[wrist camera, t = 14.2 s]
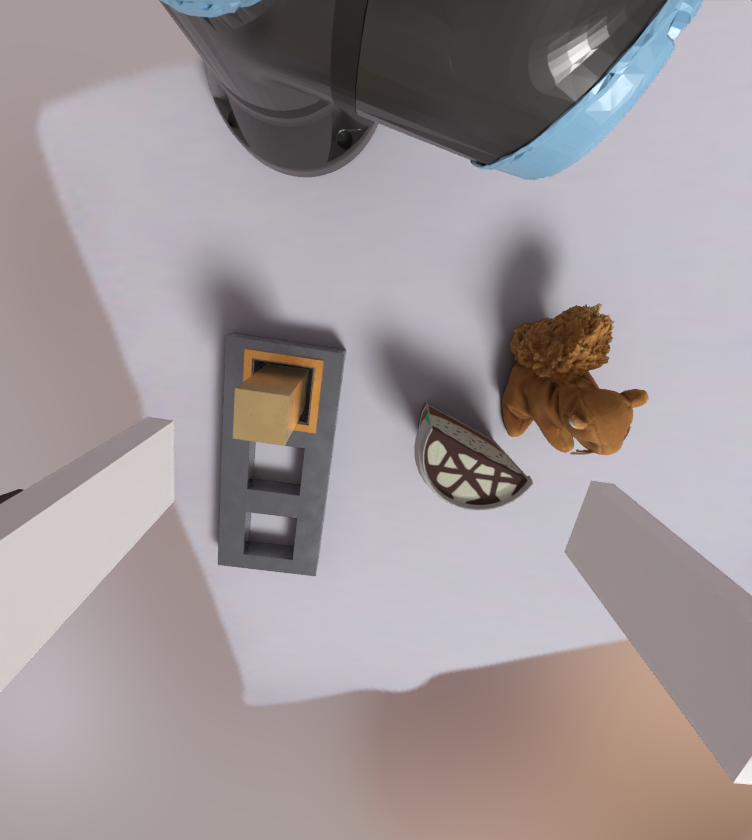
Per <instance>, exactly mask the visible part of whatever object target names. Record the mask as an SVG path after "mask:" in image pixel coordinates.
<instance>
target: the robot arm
mask: <svg viewBox="0 0 752 840" xmlns="http://www.w3.org/2000/svg"><path fill="white" fill-rule="evenodd" d="M159 1H160V2H161V3H162V5H163V6H164V7H165V9H166V10H167V11H168V13H169V14H170V15H171V17H172V18H173V20H174V21H175V22H176V24H177V25H178V26H179V28H180V29H181V30H182V32H183V33H184V34H185V36H186V37H187V38H188V40H189V41H190V42H191V44H192V45H193V46H194V47H195V49H196V50H197V52H198V53H199V54H200V56H201V57H202V58H203V60H204V61H205V66H206V73H207V78H208V82H209V86H210V90H211V93H212V96H213V98H214V101H215V103H216V106H217V108H218V110H219V112H220V114H221V116H222V118H223V120H224V122H225V123H226V125H227V126H228V128H229V129H230V131H231V132H232V133H233V135H234V136H235V137H236V138H237V140H238V141H239V142H240V143H241V144H242V145H243V146H244V147H245V148H246V149H247V150H248V152H250V153H251V154H252V155H253V156H254V157H255V158H256V159H258V160H259V161H260V162H262V163H263V164H265V165H266V166H268V167H270V168H272V169H274V170H276V171H278V172H281V173H284V174H287V175H291V176H297V177H315V176H321V175H325V174H328V173H331V172H333V171H336V170H338V169H340V168H341V167H343V166H345V165H346V164H348V163H349V162H350V161H352V160H353V159H354V158H355V157H356V156H357V155H358V154H359V153H360V152H361V151H362V150H363V148H364V147H365V146H366V145H367V143H368V142H369V140H370V139H371V137H372V135H373V133H374V132H375V130H376V127H377V125H378V123H379V124H381V125H384V126H386V127H389V128H391V129H394V130H397V131H399V132H402V133H404V134H407V135H409V136H412V137H414V138H417V139H419V140H422V141H424V142H427V143H429V144H432V145H434V146H437V147H439V148H442V149H444V150H447V151H450V152H452V153H455V154H457V155H460V156H462V157H465V158H467V159H470V161H471V163H472V164H473V165H474V166H476V167H478V168H480V169H496V170H499V171H502V172H505V173H508V174H511V175H514V176H517V177H520V178H522V179H527V180H536V179H539V178H545V177H550V176H553V175H556V174H558V173H560V172H562V171H563V170H565V169H567V168H568V167H570V166H572V165H573V164H574V163H576V162H577V161H579V160H580V159H581V158H582V157H584V156H585V155H586V154H587V153H588V152H590V151H591V150H592V149H593V148H594V147H595V146H596V145H597V144H598V143H599V142H600V141H601V140H602V139H603V138H604V137H605V136H607V135H608V134H609V132H610V131H611V130H612V129H613V128H614V127H615V126H616V125H617V124H618V123H619V122H620V121H621V120H622V119H623V117H624V116H625V115H626V114H627V113H628V112H629V110H630V109H631V108H632V107H633V106H634V105H635V103H636V102H637V101H638V100H639V98H640V97H641V96H642V95H643V93H644V92H645V91H646V90H647V88H648V87H649V86H650V84H651V83H652V82H653V80H654V79H655V78H656V76H657V75H658V74H659V72H660V71H661V69H662V68H663V66H664V65H665V64H666V62H667V61H668V59H669V58H670V56H671V54H672V53H673V51H674V48H675V47H674V42H673V41H674V39H675V38H676V37H677V36H678V35H679V34H680V33H681V31H682V30H683V29H684V28H685V27H686V26H687V25H688V24H689V23H690V22H691V21H692V20H693V19H694V17H695V16H696V14H697V12H698V10H699V8H700V6H701V5H702V3H703V1H704V0H159ZM173 502H174V421H173V420H166V419H159V418H152V417H147V418H145V419H143V420H142V421H140V422H138V423H137V424H135V425H133V426H132V427H130V428H128V429H126V430H125V431H123V432H122V433H120V434H118V435H116V436H115V437H113V438H111V439H110V440H108V441H106V442H105V443H103V444H101V445H99V446H98V447H96V448H94V449H93V450H91V451H89V452H88V453H86V454H84V455H83V456H81V457H79V458H77V459H76V460H74V461H73V462H71V463H69V464H67V465H66V466H64V467H62V468H61V469H59V470H57V471H56V472H54V473H52V474H50V475H49V476H47V477H45V478H44V479H42V480H40V481H39V482H37V483H35V484H34V485H32V486H30V487H28V488H27V489H25V490H22V489H18V490H15V491H12V492H10V493H6V494H3V495H1V496H0V692H1V691H2V690H3V689H4V688H5V687H6V685H7V684H8V683H9V682H10V681H11V680H12V679H13V678H14V677H15V676H16V674H17V673H18V672H19V671H20V670H21V669H22V668H23V667H24V665H25V664H26V663H27V662H28V661H29V660H30V659H31V658H32V657H33V656H34V655H35V654H36V652H37V651H38V650H39V649H40V648H41V647H42V646H43V645H44V644H45V642H46V641H47V640H48V639H49V638H50V637H51V636H52V635H53V634H54V633H55V632H56V630H57V629H58V628H59V627H60V626H61V625H62V624H63V623H64V622H65V620H66V619H67V618H68V617H69V616H70V614H72V613H73V612H74V611H75V609H76V608H77V607H78V606H79V605H80V604H81V603H82V602H83V601H84V600H85V598H86V597H87V596H88V595H89V594H90V593H91V592H92V591H93V590H94V589H95V587H96V586H97V585H98V584H99V583H100V582H101V581H102V580H103V579H104V578H105V576H106V575H107V574H108V573H109V572H110V571H111V570H112V569H113V568H114V567H115V565H116V564H117V563H118V562H119V561H120V560H121V559H122V558H123V557H124V556H125V554H126V553H127V552H128V551H129V550H130V549H131V548H132V547H133V546H134V545H135V543H136V542H137V541H138V540H139V539H140V538H141V537H142V536H143V535H144V533H145V532H146V531H147V530H148V529H149V528H150V527H151V526H152V525H153V524H154V523H155V521H156V520H157V519H158V518H159V517H160V516H161V515H162V514H163V512H164V511H165V510H166V509H167V508H168V507H169V506H170V505H171V504H172V503H173ZM565 553H566V555H567V556H568V557H569V559H570V560H571V561H572V563H573V564H574V566H575V567H576V568H577V570H578V571H579V572H580V574H581V575H582V577H583V578H584V579H585V581H586V582H587V583H588V585H589V586H590V587H591V589H592V590H593V592H594V593H595V594H596V596H597V597H598V598H599V600H600V601H601V603H602V604H603V605H604V607H605V608H606V609H607V611H608V612H609V613H610V615H611V616H612V618H613V619H614V620H615V622H616V623H617V624H618V626H619V627H620V629H621V630H622V631H623V633H624V634H625V635H626V637H627V638H628V639H629V641H630V642H631V644H632V645H633V646H634V647H635V649H636V650H637V652H638V653H639V655H640V656H641V657H642V659H643V660H644V661H645V663H646V664H647V665H648V667H649V668H650V669H651V671H652V672H653V674H654V675H655V676H656V678H657V679H658V680H659V682H660V683H661V684H662V686H663V687H664V689H665V690H666V691H667V693H668V694H669V695H670V697H671V698H672V700H673V701H674V702H675V704H676V705H677V706H678V708H679V709H680V711H681V712H682V713H683V715H684V716H685V717H686V719H687V720H688V722H689V723H690V724H691V726H692V727H693V728H694V730H695V731H696V732H697V734H698V735H699V737H700V738H701V739H702V740H703V742H704V743H705V745H706V746H707V748H708V749H709V750H710V752H711V753H712V754H713V756H714V757H715V758H716V760H717V761H718V762H719V764H720V765H721V767H722V768H723V769H724V771H725V772H726V773H727V775H728V776H729V778H730V779H731V780H732V782H733V783H741V784H752V596H751V595H750V594H749V593H747V592H746V591H745V590H744V589H742V588H741V587H740V586H739V585H738V584H736V583H735V582H734V581H733V580H731V579H730V578H729V577H728V576H726V575H725V574H724V573H723V572H722V571H720V570H719V569H718V568H717V567H715V566H714V565H713V564H712V563H710V562H709V561H708V560H707V559H706V558H704V557H703V556H702V555H701V554H699V553H698V552H697V551H696V550H694V549H693V548H692V547H691V546H690V545H688V544H687V543H686V542H685V541H683V540H682V539H681V538H680V537H678V536H677V535H676V534H675V533H674V532H672V531H671V530H670V529H669V528H667V527H666V526H665V525H664V524H662V523H661V522H660V521H659V520H658V519H656V518H655V517H654V516H653V515H651V514H650V513H649V512H648V511H646V510H645V509H644V508H643V507H642V506H640V505H639V504H638V503H637V502H635V501H634V500H633V499H632V498H630V497H629V496H628V495H627V494H626V493H624V492H623V491H622V490H621V489H619V488H618V487H617V486H616V485H614V484H611V483H604V482H597V481H591V483H590V485H589V488H588V491H587V493H586V496H585V499H584V501H583V504H582V507H581V509H580V512H579V515H578V517H577V520H576V523H575V525H574V528H573V531H572V533H571V536H570V539H569V541H568V544H567V547H566V549H565Z"/></svg>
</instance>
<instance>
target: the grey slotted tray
mask: <svg viewBox="0 0 752 840" xmlns="http://www.w3.org/2000/svg"><path fill="white" fill-rule="evenodd" d="M345 354H346V350H342V349H336V348H329V347H323V346H316V345H310V344H303V343H297V342H290V341H284V340H277V339H271V338H264V337H258V336H251V335H245V334H238V333H232V334H229V335H226V336H225V365H224V395H223V425H222V455H221V485H220V515H219V545H218V565H224V566H232V567H241V568H249V569H258V570H266V571H275V572H284V573H292V574H301V575H309V576H316V571H317V566H318V559H319V551H320V544H321V536H322V529H323V521H324V513H325V506H326V498H327V491H328V483H329V475H330V468H331V460H332V453H333V445H334V437H335V430H336V422H337V415H338V407H339V399H340V392H341V384H342V377H343V369H344V361H345ZM261 361H266V362H272V363H279V364H286V365H292V366H299V367H306V368H312V369H313V375H312V384H311V394H310V403H309V413H308V415H301V417H300V419H299V420H298V422H297V424H296V426H295V428H294V430H293V432H292V434H291V436H290V437H289V439H288V441H287V443H286V445H285V446H291V447H299V448H305V450H304V460H303V469H302V478H301V485H296V484H288V483H281V482H273V481H265V480H258V479H253V475H254V459H255V443H256V442H254V441H247V440H240V439H233V421H234V398H235V388H236V387H237V386H239V385H240V384H241V383H243V382H244V381H245V380H246V379H248V378H249V377H250V376H252V375H253V374H254V373H256V372H257V371H258V370H260V363H261ZM251 512H252V513H260V514H268V515H276V516H284V517H292V518H297V525H296V535H295V544H294V547H290V546H282V545H273V544H265V543H257V542H249V538H250V522H251Z"/></svg>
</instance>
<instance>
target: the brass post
mask: <svg viewBox="0 0 752 840" xmlns="http://www.w3.org/2000/svg"><path fill="white" fill-rule="evenodd" d="M308 373H309V370H308V369H302V368H295V367H288V366H282V365H275V364H266V365H265V366H264V367H262V368H261V369H260V370H258V371H257V372H256V373H254V374H253V375H252V376H250V377H249V378H248V379H246V380H245V381H244V382H243V383H241V384H240V385H239V386H237V387H236V388H235V398H234V421H233V439H240V440H247V441H254V442H262V443H269V444H276V445H284V446H285V445H286V443H287V441H288V439H289V437H290V436H291V434H292V432H293V430H294V428H295V426H296V424H297V422H298V420H299V419H300V417H301V415H302V413H303V411H304V409H305V402H306V393H307V383H308Z"/></svg>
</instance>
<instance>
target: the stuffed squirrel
mask: <svg viewBox="0 0 752 840" xmlns="http://www.w3.org/2000/svg"><path fill="white" fill-rule="evenodd" d="M601 306H602V304H600V303H599V304H598V305H596V306H594V307H590V306H589V307H590V308H589V307H587V304H586V305H585V306H583V307H580V306H577V305H576V306H575V307H572V308H569V309H568V310H566V311H563V312H562V314H560V315H558V316H556V317H555V318H554V320H553V319H548V318H547V319H542V320H541V321H538V322H534V323H533V324H524V325H523V326H520V327H519V328H517V329H516V330H513V331H514V332H515V334H514V336H513V338H512V341H511V343H509V344H510V346H511V348H510V350H511V351H512V353H513V354H515V361H517V360H518V361H517V362H516V363H515V365H514V367H513V369H512V372H511V374H510V377H509V380H508V384H507V387H506V389H505V391H504V394H503V396H502V409H503V419H504V424H505V427H506V430H507V433H508V434H509V436H511V437H518V436H520V435H521V434H522V433H523V432H524V431H525V430H526V429H527V428H528V426H529V425H530V424H531V423H532V421H533V420H534V421H535V422H536V424H537V425H538V426H539V428H540V430H541V431H542V433H543V435H544V436H545V438H546V439H547V440H548V442H549V443H550V444H551V445H552V446H553V447H554V448H556V449H557V450H559V451H561V452H565V453H567V452H569V451H570V450H572V449H573V448H574V441H573V437H574V438H576V439H577V440H578V441H579V442H580V443H581V444H582V445H583V446H584V447H585V448H587V449H588V450H583V451H580V450H576V452H577V453H575V452H571V453H570V454H571V455H575V454H576V455H584V454H590V453H597V454H600V455H610V454H613V453H616V452H617V451H618V450H619V449H620V448H621V446H622V444H623V441H624V439H625V438H626V436H627V435H628V433H629V430H630V424H631V423H632V420H633V409H632V408H633V407H638V406H642V405H644V404H645V403H646V402H647V400H648V394H647V392H646V391H644V390H638V389H632V390H628V391H624V392H622V393H620V394H619V393H618V392H615V391H611V390H606V389H599V387H598V385H597V384H596V382H595V381H594V379H593V377H592V376H591V375H590V373H589V372H588V371H589V370H592V369H596V368H599V367H601V366H602V364H605V363H608V359H609V357H606V355H607V353H609V351H610V345H609V344H608V343H610V342H611V341H612V339H613V337H611V333H612V332H611V330H612V329H613V328H614V327H613V326H612V324H613V323H614V321H613V322H612V320H611V319H610V316H609V315H607V316H606V315H604V314H601V315H600V314H599V309H600V307H601ZM599 315H600V316H599ZM626 433H627V434H626ZM572 435H573V436H572ZM578 452H583V453H578Z"/></svg>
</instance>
